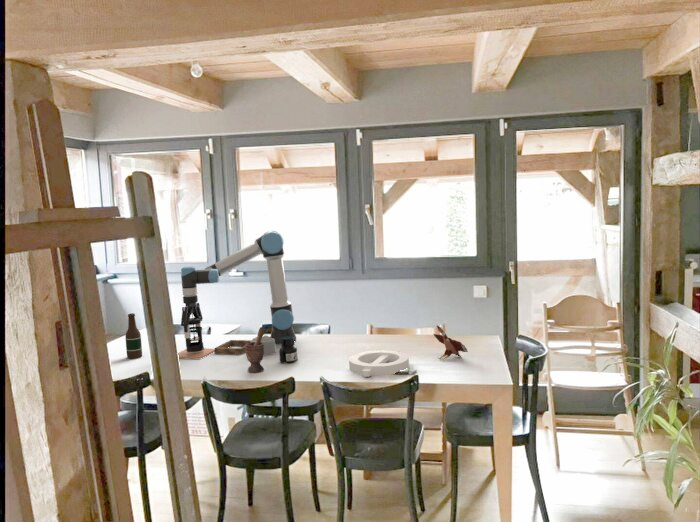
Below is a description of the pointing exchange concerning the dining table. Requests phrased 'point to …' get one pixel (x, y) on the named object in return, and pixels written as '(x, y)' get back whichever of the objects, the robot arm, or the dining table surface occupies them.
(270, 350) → the lumpy-topped squat cylinder
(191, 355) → the terracotta pad
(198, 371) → the dining table surface
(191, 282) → the robot arm
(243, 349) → the brown wooden tray
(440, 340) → the decorative bird
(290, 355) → the ink bottle
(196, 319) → the french press
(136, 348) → the beer bottle
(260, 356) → the mortar and pestle
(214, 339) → the dining table surface
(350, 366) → the white circle with bar
